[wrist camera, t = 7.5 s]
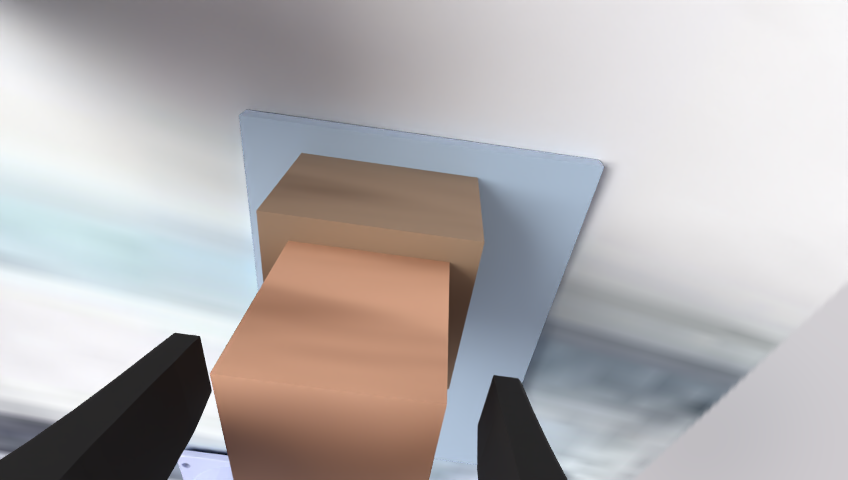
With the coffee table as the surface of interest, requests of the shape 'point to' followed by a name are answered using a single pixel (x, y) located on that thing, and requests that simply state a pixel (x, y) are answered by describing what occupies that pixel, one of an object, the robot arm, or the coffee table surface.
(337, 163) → the base brick
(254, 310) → the terracotta block
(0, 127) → the coffee table surface
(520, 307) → the board
